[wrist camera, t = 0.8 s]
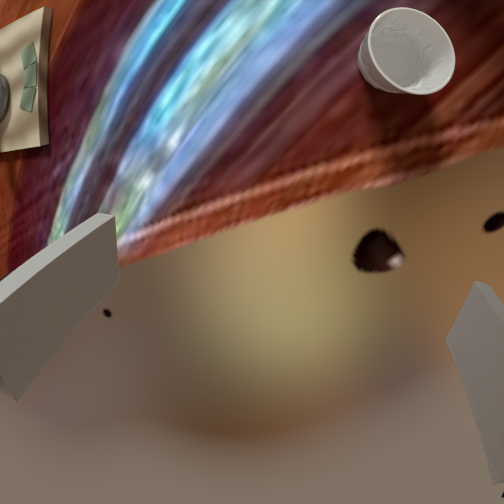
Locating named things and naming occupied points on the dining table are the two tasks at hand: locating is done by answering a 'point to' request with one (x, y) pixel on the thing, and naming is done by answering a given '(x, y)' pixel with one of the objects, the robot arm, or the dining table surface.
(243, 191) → the dining table surface
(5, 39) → the stand
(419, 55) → the white cup
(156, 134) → the dining table surface
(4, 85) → the lever
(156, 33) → the dining table surface
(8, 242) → the dining table surface
